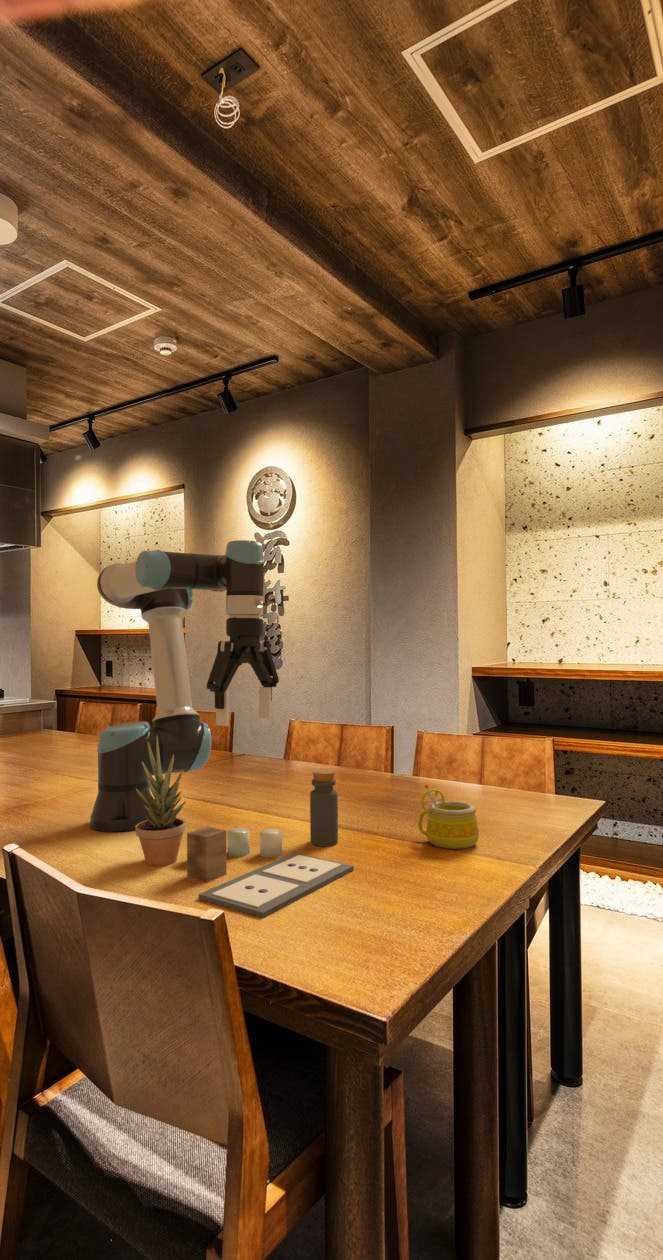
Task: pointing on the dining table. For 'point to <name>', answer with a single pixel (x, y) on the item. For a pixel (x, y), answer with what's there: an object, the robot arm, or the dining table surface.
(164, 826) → the potted plant
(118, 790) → the robot arm
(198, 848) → the block
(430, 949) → the dining table surface
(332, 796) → the bottle
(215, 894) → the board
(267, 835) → the short white cylinder
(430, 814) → the mug
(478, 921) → the dining table surface
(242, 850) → the grey-green upright cylinder
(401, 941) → the dining table surface
